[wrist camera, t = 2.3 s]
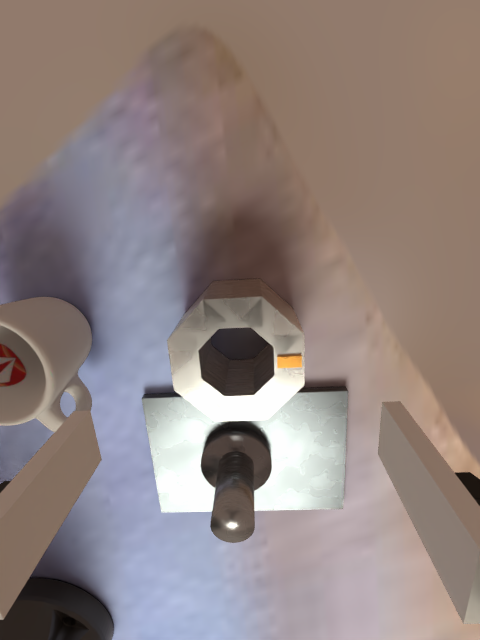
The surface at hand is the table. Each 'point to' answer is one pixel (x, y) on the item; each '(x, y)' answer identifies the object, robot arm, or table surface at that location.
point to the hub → (238, 375)
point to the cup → (41, 360)
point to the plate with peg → (249, 458)
